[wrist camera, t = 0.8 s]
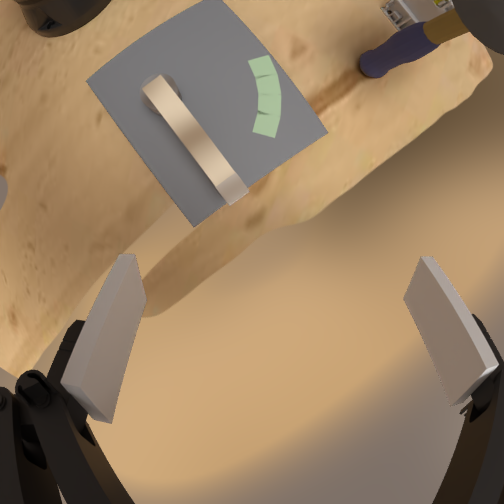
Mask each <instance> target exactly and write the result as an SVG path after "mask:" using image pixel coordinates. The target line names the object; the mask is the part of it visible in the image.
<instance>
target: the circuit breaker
mask: <svg viewBox="0 0 504 504" xmlns="http://www.w3.org/2000/svg"><path fill="white" fill-rule="evenodd" d="M453 8H454V5H453V2H452V0H391V1H389V2H388V3H387V4H386V8H385V9H384V8H383V7H382V8H381V10H382V11H383V12H384V14H385V15H386V16H387V17H388V19H389V20H390V21H391V22H392V24H393V25H394V26H395V27H396V29H397V30H398V31H400V30H402V29H404V28H406V27H408V26H410V25H412V24H415V23H418V22H424V21H425V22H428V21H430V20H431V19H433V18H435V17H437V16H439V15H441V14H443V13H445V12H447V11H449V10H451V9H453ZM388 11H391V14H390V15H389V14H388V13H387V12H388ZM390 16H391V17H392V18H393V19H394V21H393V19H392V18H391V17H390ZM395 22H397V24H398V25H397V24H396V23H395ZM399 27H401V29H400V28H399Z"/></svg>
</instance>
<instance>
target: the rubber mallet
mask: <svg viewBox="0 0 504 504" xmlns="http://www.w3.org/2000/svg"><path fill="white" fill-rule="evenodd" d="M452 2H453V5H454V8H453V9H451V10H449V11H447V12H445V13H443V14H441V15H439V16H437V17H435V18H433V19H431V20H430V21H428V22H425V21H424V22H418V23H415V24H412V25H410V26H408V27H406V28H404V29H402V30H400V31H398V32H397V33H395V34H394V35H392V36H391V37H390V38H389V39H388V40H387V41H386V42H385V43H384V44H382V45H380V46H379V47H377V48H376V49H374V50H369V51H367V52H365V53H363V54H362V55H361V57H360V69H361V70H362V72H363V73H364V74H365V75H367V76H370V77H374V78H380V77H382V76H384V75H385V74H386V73H387V72H388V71H389V70H390V69H392V68H394V67H396V66H398V65H401V64H404V63H408V62H412V61H415V60H417V59H419V58H421V57H423V56H425V55H427V54H428V53H430V52H432V51H433V50H435V49H436V48H437V47H439V45H440V44H441V43H444V42H446V41H448V40H451V39H453V38H455V37H458V36H460V35H462V34H465V33H467V32H471V34H472V35H473V36H474V37H476V38H477V39H478V40H479V41H480V42H481V43H482V44H484V45H485V46H487V47H488V48H490V49H492V50H493V51H495V52H497V53H500V54H503V55H504V0H452Z"/></svg>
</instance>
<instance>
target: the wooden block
mask: <svg viewBox="0 0 504 504" xmlns="http://www.w3.org/2000/svg"><path fill="white" fill-rule="evenodd" d="M140 98H141V100H142V102H143V103H144V104H145V105H146V106H147V107H149V108H150V109H151V110H152V111H153V112H154V113H155V114H157V115H159V116H163V117H164V119H165V120H166V121H167V123H168V124H169V125H170V127H171V128H172V129H173V130H174V132H175V133H176V134H177V136H178V137H179V138H180V140H181V141H182V142H183V144H184V145H185V146H186V148H187V149H188V150H189V152H190V153H191V154H192V156H193V157H194V158H195V160H196V161H197V162H198V164H199V165H200V166H201V168H202V169H203V170H204V172H205V173H206V174H207V176H208V177H209V178H210V180H211V181H212V182H213V184H214V185H215V187H216V189H217V190H218V191H219V193H220V194H221V195H222V197H223V198H224V199H225V201H226V202H227V204H228V205H229V206H231V205H232V204H233V203H235V202H236V201H238V200H239V199H240V198H242V197H243V196H244V195H246V194H247V193H249V192H250V191H249V189H248V188H247V187H246V185H245V184H244V183H243V181H242V180H241V178H240V177H239V176H238V174H237V173H236V172H235V171H234V170H233V169H232V167H231V166H230V165H229V163H228V162H227V160H226V159H225V158H224V156H223V155H222V154H221V152H220V151H219V150H218V148H217V147H216V146H215V144H214V143H213V142H212V140H211V139H210V138H209V136H208V135H207V134H206V132H205V131H204V130H203V128H202V127H201V126H200V125H199V123H198V122H197V121H196V119H195V118H194V117H193V115H192V114H191V113H190V111H189V110H188V109H187V108H186V106H185V105H184V104H183V102H182V96H181V93H180V91H179V89H178V87H177V85H176V83H175V81H174V79H173V78H172V77H171V76H169V75H167V74H163V73H158V74H154V75H151V76H150V77H148V78H147V79H146V80H145V81H144V82H143V83H142V85H141V87H140Z"/></svg>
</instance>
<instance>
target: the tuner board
mask: <svg viewBox="0 0 504 504" xmlns="http://www.w3.org/2000/svg"><path fill="white" fill-rule="evenodd" d="M158 73H163V74H167V75H169V76H171V77H172V78H173V79H174V81H175V83H176V85H177V87H178V89H179V91H180V93H181V96H182V102H183V104H184V105H185V106H186V108H187V109H188V110H189V111H190V113H191V114H192V115H193V117H194V118H195V119H196V121H197V122H198V123H199V125H200V126H201V127H202V128H203V130H204V131H205V132H206V134H207V135H208V136H209V138H210V139H211V140H212V142H213V143H214V144H215V146H216V147H217V148H218V150H219V151H220V152H221V154H222V155H223V156H224V158H225V159H226V160H227V162H228V163H229V165H230V166H231V167H232V169H233V170H234V171H235V172H236V173H237V174H238V176H239V177H240V178H241V180H242V181H243V183H244V184H245V185H246V187H247V188H248V187H250V186H251V185H252V184H254V183H255V182H257V181H258V180H259V179H261V178H262V177H264V176H265V175H267V174H268V173H269V172H271V171H272V170H274V169H275V168H277V167H278V166H279V165H281V164H282V163H284V162H285V161H287V160H288V159H290V158H291V157H293V156H294V155H296V154H297V153H299V152H300V151H302V150H303V149H304V148H306V147H307V146H309V145H310V144H312V143H314V142H315V141H317V140H318V139H320V138H321V137H323V136H324V135H326V134H327V133H328V131H327V130H326V128H325V127H324V125H323V124H322V122H321V121H320V119H319V118H318V117H317V115H316V114H315V112H314V111H313V109H312V108H311V106H310V105H309V104H308V102H307V101H306V99H305V98H304V97H303V95H302V94H301V93H300V91H299V90H298V89H297V87H296V86H295V85H294V83H293V82H292V81H291V79H290V78H289V77H288V75H287V74H286V73H285V71H284V70H283V69H282V68H281V66H280V65H279V64H278V63H277V61H276V60H275V59H274V58H273V56H272V55H271V54H270V53H269V52H268V50H267V49H266V48H265V47H264V46H263V44H262V43H261V42H260V41H259V40H258V39H257V37H256V36H255V35H254V34H253V33H252V32H251V31H250V29H249V28H248V27H247V26H246V25H245V24H244V23H243V22H242V21H241V20H240V18H239V17H238V16H237V15H236V14H235V13H234V12H233V11H232V10H231V9H230V8H229V7H228V6H227V5H226V4H225V3H224V2H223V1H222V0H203V1H201V2H199V3H197V4H195V5H193V6H192V7H190V8H188V9H186V10H184V11H183V12H181V13H179V14H177V15H176V16H174V17H172V18H171V19H169V20H167V21H166V22H164V23H162V24H161V25H159V26H158V27H156V28H155V29H153V30H151V31H150V32H148V33H147V34H145V35H144V36H143V37H141V38H140V39H138V40H137V41H135V42H134V43H133V44H131V45H130V46H128V47H127V48H126V49H124V50H123V51H122V52H120V53H119V54H118V55H116V56H115V57H114V58H113V59H111V60H110V61H109V62H108V63H106V64H105V65H104V66H103V67H101V68H100V69H99V70H98V71H97V72H95V73H94V74H93V75H92V76H91V77H90V78H88V79H87V80H86V82H87V83H88V85H89V86H90V88H91V89H92V90H93V92H94V93H95V95H96V96H97V97H98V99H99V100H100V102H101V103H102V105H103V106H104V107H105V109H106V110H107V112H108V113H109V114H110V116H111V117H112V119H113V120H114V121H115V123H116V124H117V126H118V127H119V128H120V130H121V131H122V132H123V134H124V135H125V137H126V138H127V139H128V141H129V142H130V143H131V145H132V146H133V148H134V149H135V150H136V152H137V153H138V154H139V156H140V157H141V158H142V160H143V161H144V162H145V164H146V165H147V167H148V168H149V169H150V171H151V172H152V173H153V175H154V176H155V177H156V179H157V180H158V181H159V183H160V184H161V185H162V187H163V188H164V189H165V190H166V192H167V193H168V194H169V196H170V197H171V198H172V200H173V201H174V202H175V204H176V205H177V206H178V207H179V209H180V210H181V211H182V213H183V214H184V215H185V217H186V218H187V219H188V221H189V222H190V223H191V224H192V226H193V227H195V226H197V225H198V224H199V223H201V222H202V221H203V220H205V219H206V218H207V217H209V216H210V215H211V214H213V213H214V212H215V211H217V210H218V209H219V208H221V207H222V206H223V205H225V204H226V203H227V202H226V201H225V199H224V198H223V197H222V195H221V194H220V193H219V191H218V190H217V189H216V187H215V185H214V184H213V182H212V181H211V180H210V178H209V177H208V176H207V174H206V173H205V172H204V170H203V169H202V168H201V166H200V165H199V164H198V162H197V161H196V160H195V158H194V157H193V156H192V154H191V153H190V152H189V150H188V149H187V148H186V146H185V145H184V144H183V142H182V141H181V140H180V138H179V137H178V136H177V134H176V133H175V132H174V130H173V129H172V128H171V127H170V125H169V124H168V123H167V121H166V120H165V119H164V117H163V116H159V115H157V114H155V113H154V112H153V111H152V110H151V109H150V108H149V107H147V106H146V105H145V104H144V103H143V102H142V100H141V98H140V87H141V85H142V83H143V82H144V81H145V80H146V79H147V78H148V77H150V76H151V75H154V74H158Z"/></svg>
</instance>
